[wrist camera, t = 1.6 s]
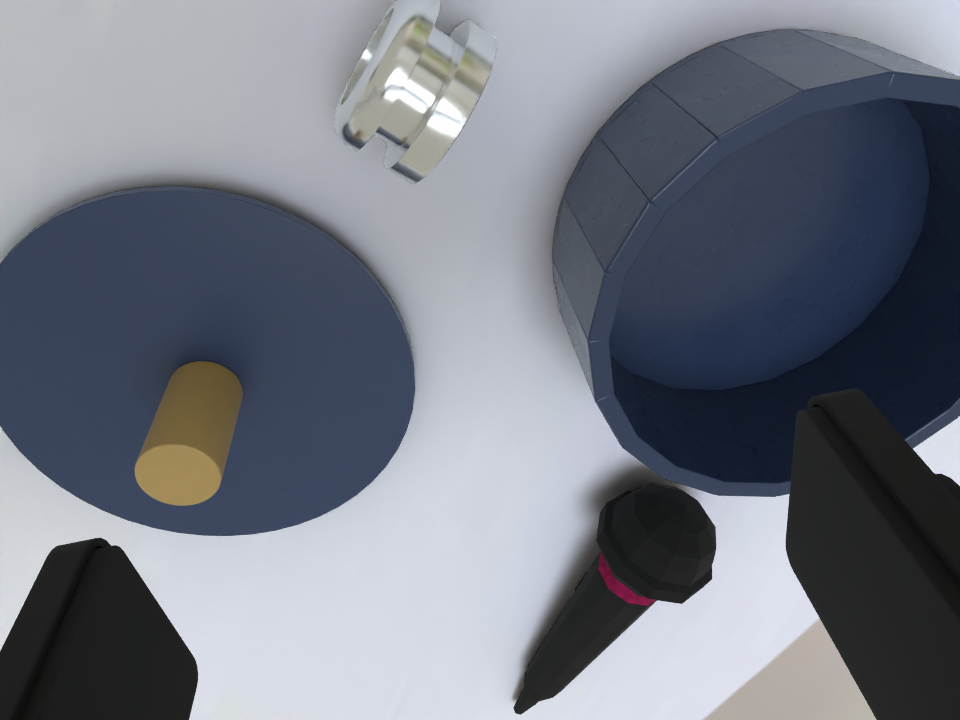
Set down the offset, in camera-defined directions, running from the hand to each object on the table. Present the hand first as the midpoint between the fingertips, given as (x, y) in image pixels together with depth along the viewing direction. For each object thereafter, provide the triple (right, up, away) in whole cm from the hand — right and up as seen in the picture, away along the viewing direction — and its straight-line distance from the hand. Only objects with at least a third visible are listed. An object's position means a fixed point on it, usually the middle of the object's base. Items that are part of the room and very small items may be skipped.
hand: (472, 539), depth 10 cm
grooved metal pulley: (-2, +12, +14) cm, 19 cm away
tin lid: (-11, +2, +19) cm, 22 cm away
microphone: (+5, -10, +30) cm, 32 cm away
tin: (+11, +7, +19) cm, 23 cm away
